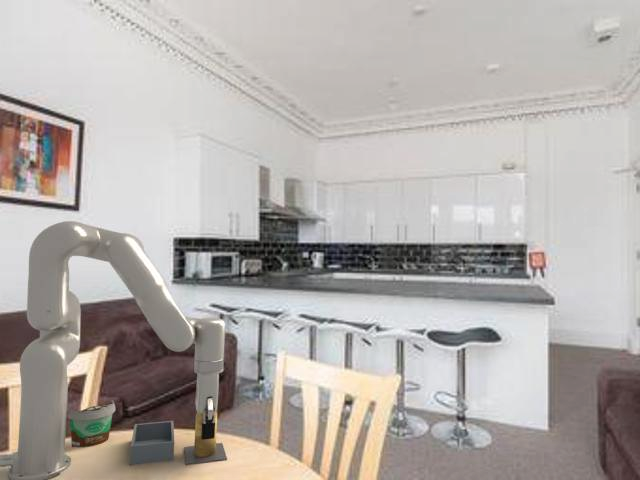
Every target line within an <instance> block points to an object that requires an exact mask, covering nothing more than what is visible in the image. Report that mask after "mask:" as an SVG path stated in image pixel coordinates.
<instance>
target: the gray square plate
mask: <svg viewBox="0 0 640 480" xmlns="http://www.w3.org/2000/svg"><path fill="white" fill-rule="evenodd" d="M184 457H185V466H191V465H201V464H205V463H214V462H222V461H227V460H228V457H227V454H226V451H225V447H224V444H223V442H216V453H215V454H214V455H212V456H210V457H197V456H195V455H194V445H189V446H184Z"/></svg>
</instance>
